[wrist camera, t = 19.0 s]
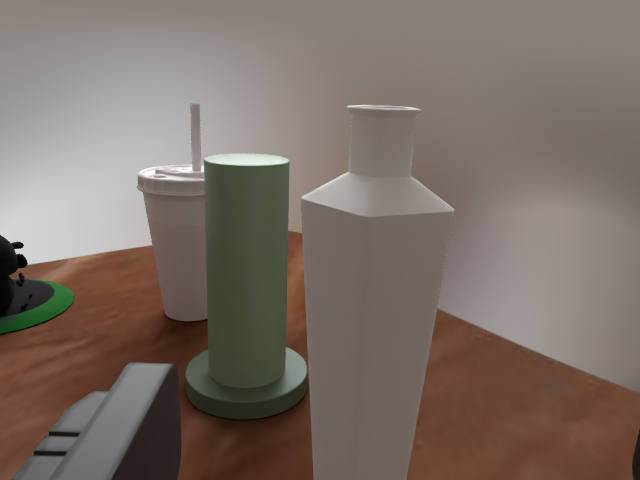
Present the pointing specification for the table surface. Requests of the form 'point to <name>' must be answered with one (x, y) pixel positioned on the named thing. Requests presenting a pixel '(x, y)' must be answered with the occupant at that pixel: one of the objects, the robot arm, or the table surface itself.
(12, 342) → the table surface
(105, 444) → the robot arm
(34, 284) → the toy figurine
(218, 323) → the post
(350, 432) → the perfume bottle
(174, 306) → the smoothie
